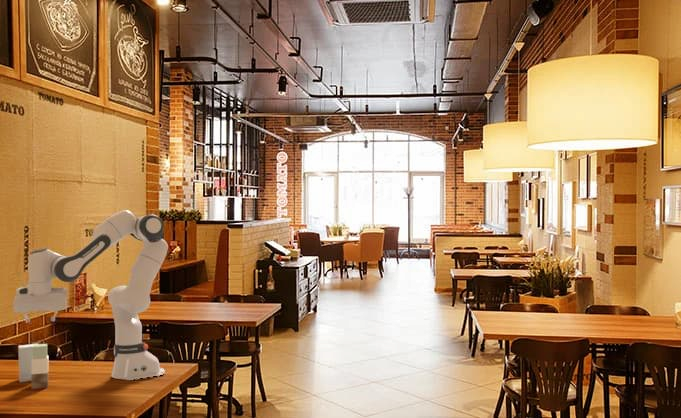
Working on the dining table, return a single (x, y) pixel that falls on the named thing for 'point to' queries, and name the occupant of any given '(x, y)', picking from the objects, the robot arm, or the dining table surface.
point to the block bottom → (39, 381)
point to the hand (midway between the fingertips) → (40, 321)
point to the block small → (40, 351)
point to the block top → (40, 365)
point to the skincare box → (25, 362)
